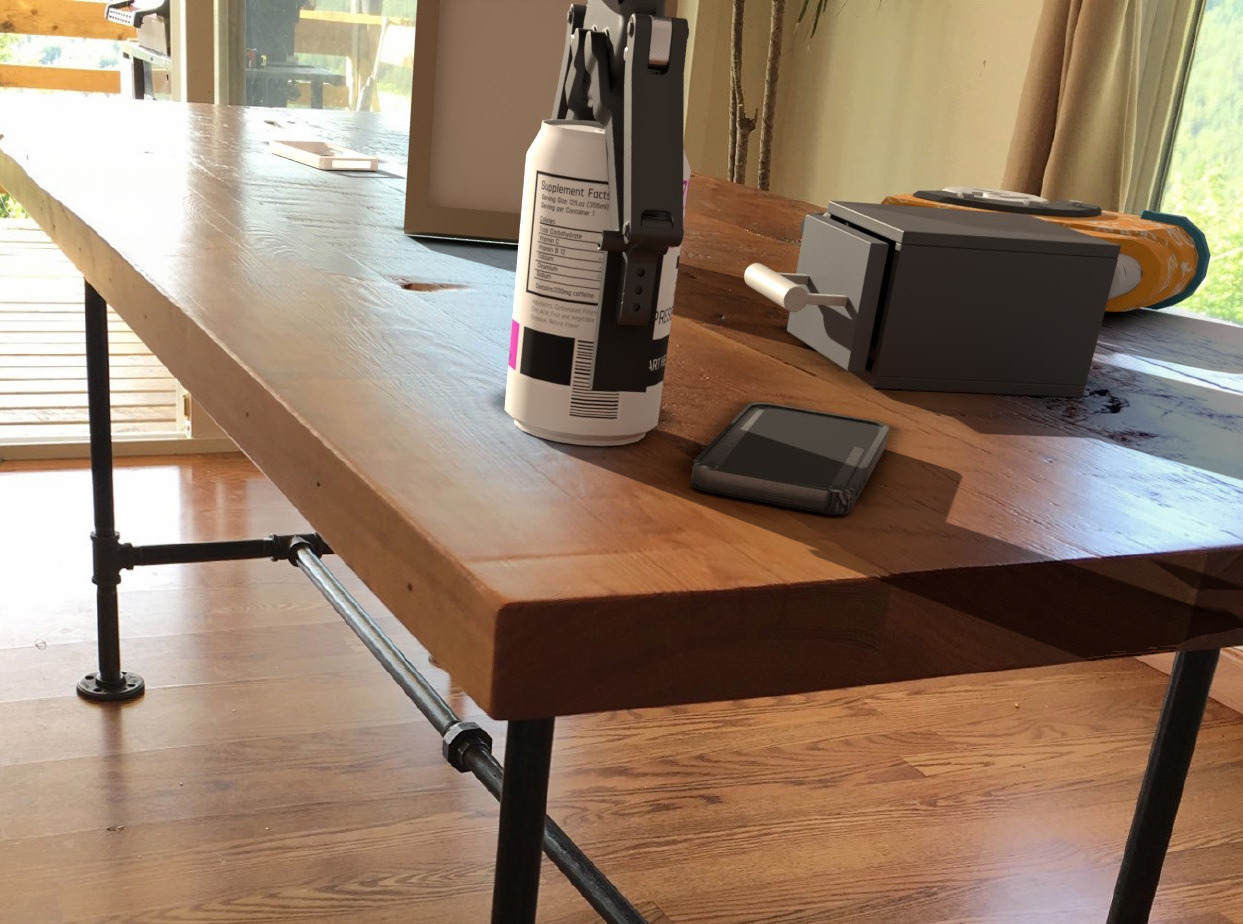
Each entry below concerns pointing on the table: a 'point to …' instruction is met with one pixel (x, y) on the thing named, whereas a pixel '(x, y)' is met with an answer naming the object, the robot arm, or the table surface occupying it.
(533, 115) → the photo frame
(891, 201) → the device
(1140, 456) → the table surface
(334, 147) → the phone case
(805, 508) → the phone
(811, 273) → the drawer
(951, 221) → the small grey cabinet
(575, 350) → the supplement can
